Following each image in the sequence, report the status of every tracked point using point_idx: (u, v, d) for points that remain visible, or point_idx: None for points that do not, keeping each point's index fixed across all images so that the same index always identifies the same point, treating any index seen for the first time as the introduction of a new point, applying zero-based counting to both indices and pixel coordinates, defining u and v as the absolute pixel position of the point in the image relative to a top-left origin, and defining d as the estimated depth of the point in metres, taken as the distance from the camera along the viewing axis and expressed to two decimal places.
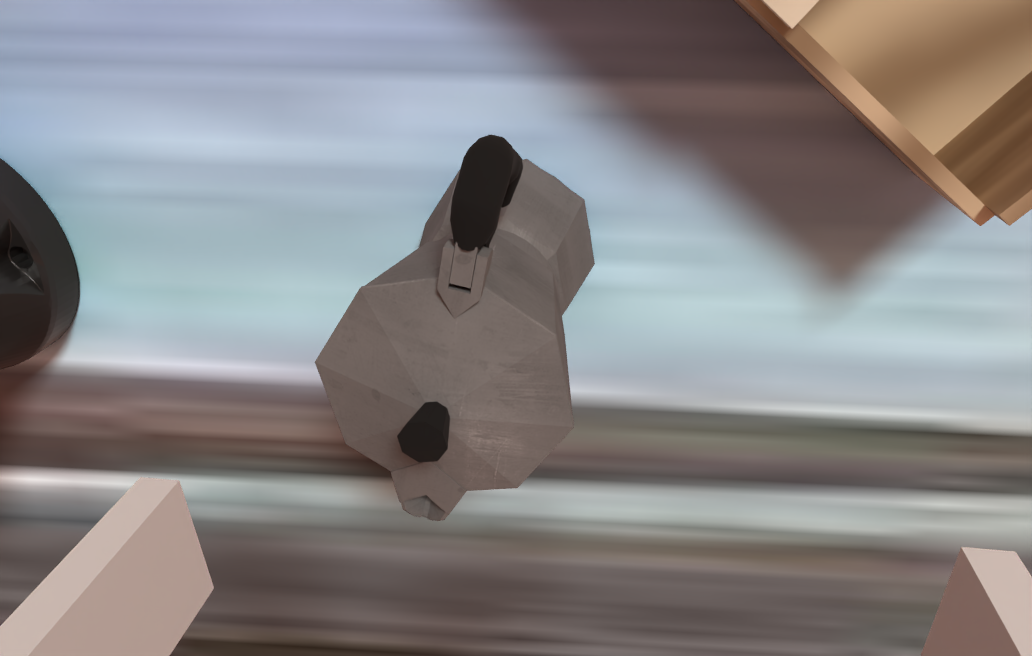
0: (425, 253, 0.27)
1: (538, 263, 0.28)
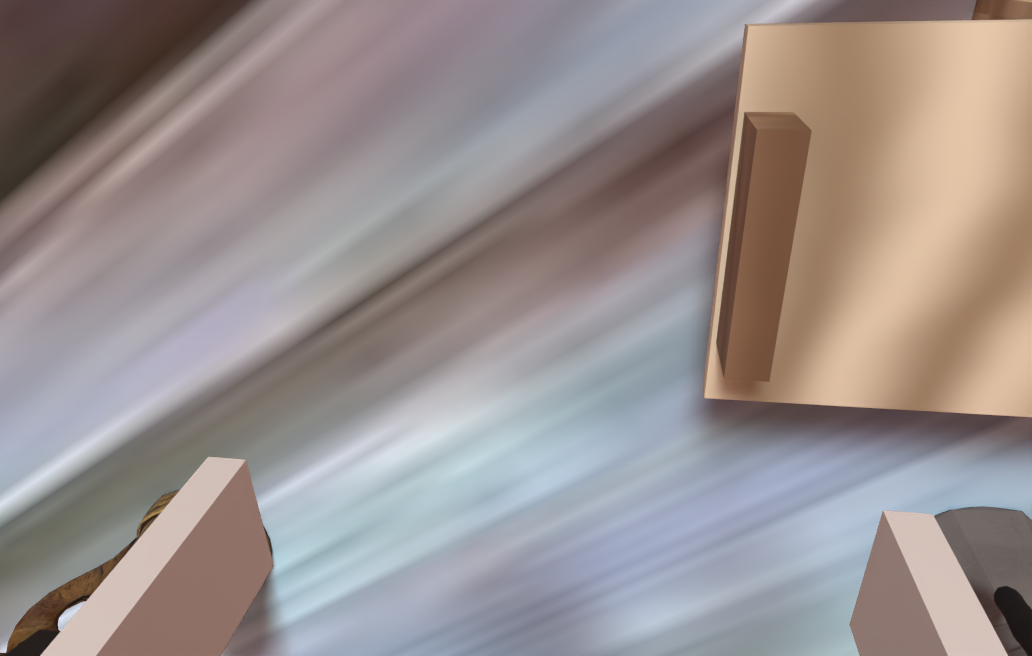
0: None
1: None
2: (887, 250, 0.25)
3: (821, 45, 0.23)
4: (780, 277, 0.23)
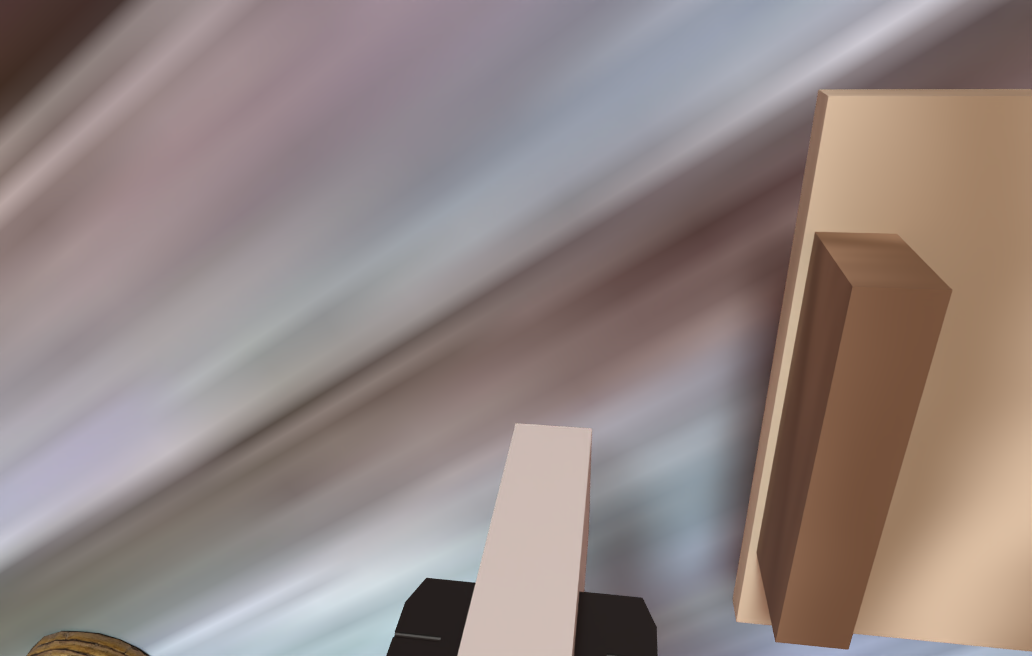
0: None
1: None
2: None
3: (952, 129, 0.13)
4: (877, 510, 0.14)
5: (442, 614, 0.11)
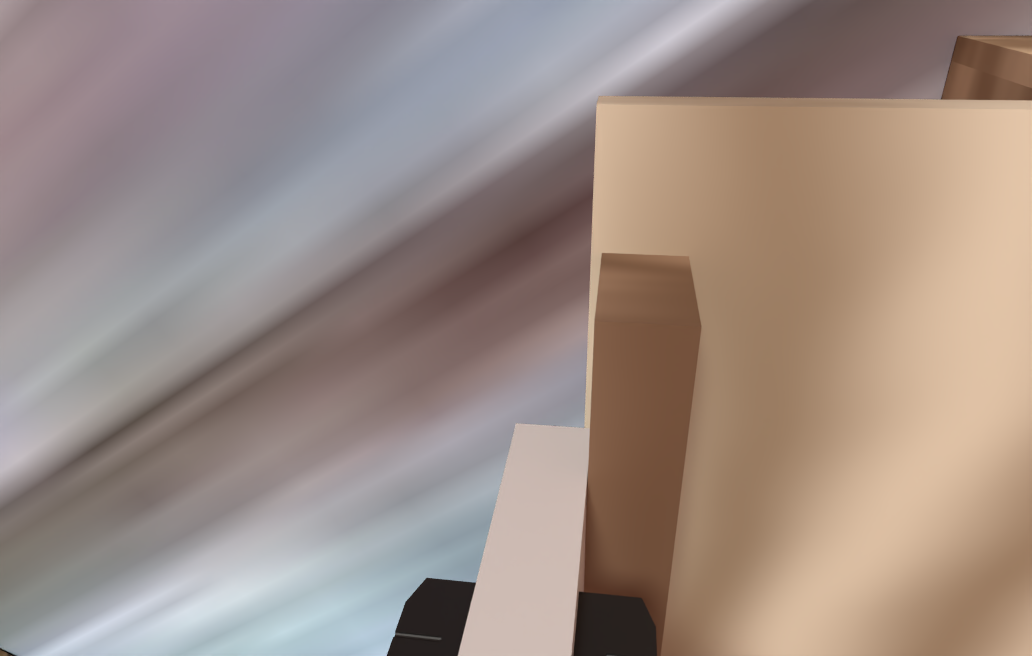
0: None
1: None
2: (861, 480, 0.15)
3: (734, 143, 0.12)
4: (660, 561, 0.13)
5: (442, 614, 0.11)
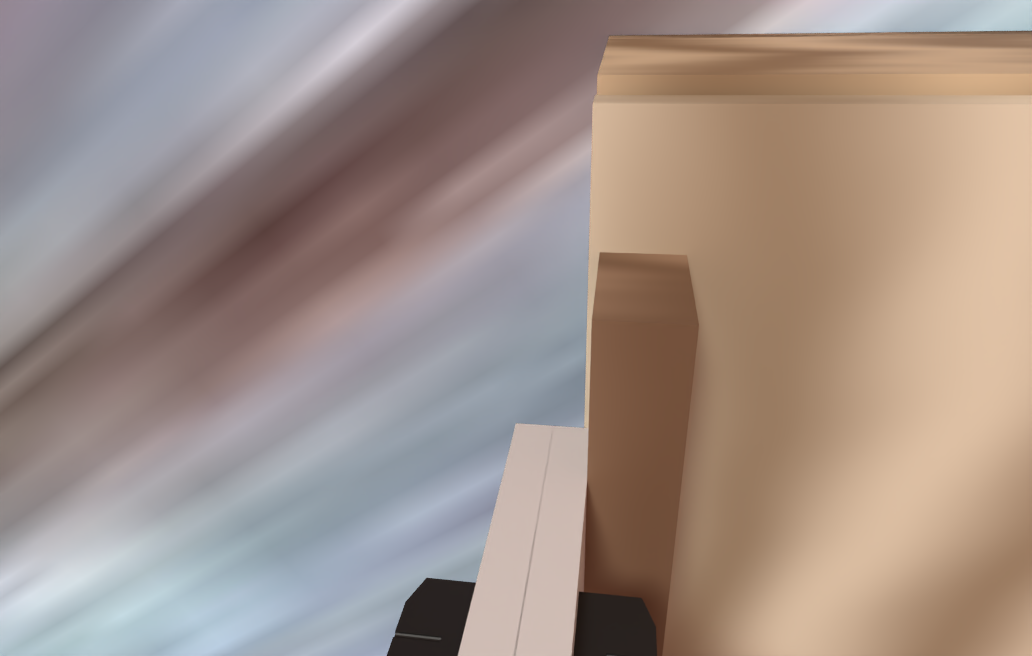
0: None
1: None
2: (862, 477, 0.15)
3: (731, 140, 0.12)
4: (661, 560, 0.13)
5: (442, 614, 0.11)
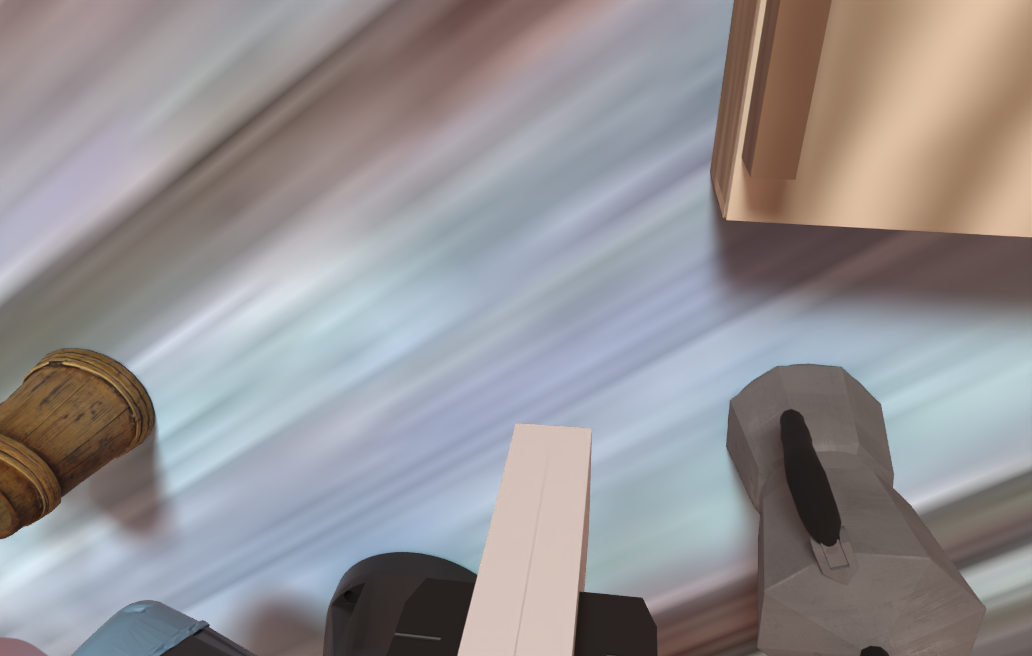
0: (776, 520, 0.33)
1: (858, 472, 0.34)
2: (918, 51, 0.25)
3: None
4: (813, 60, 0.24)
5: (442, 614, 0.11)
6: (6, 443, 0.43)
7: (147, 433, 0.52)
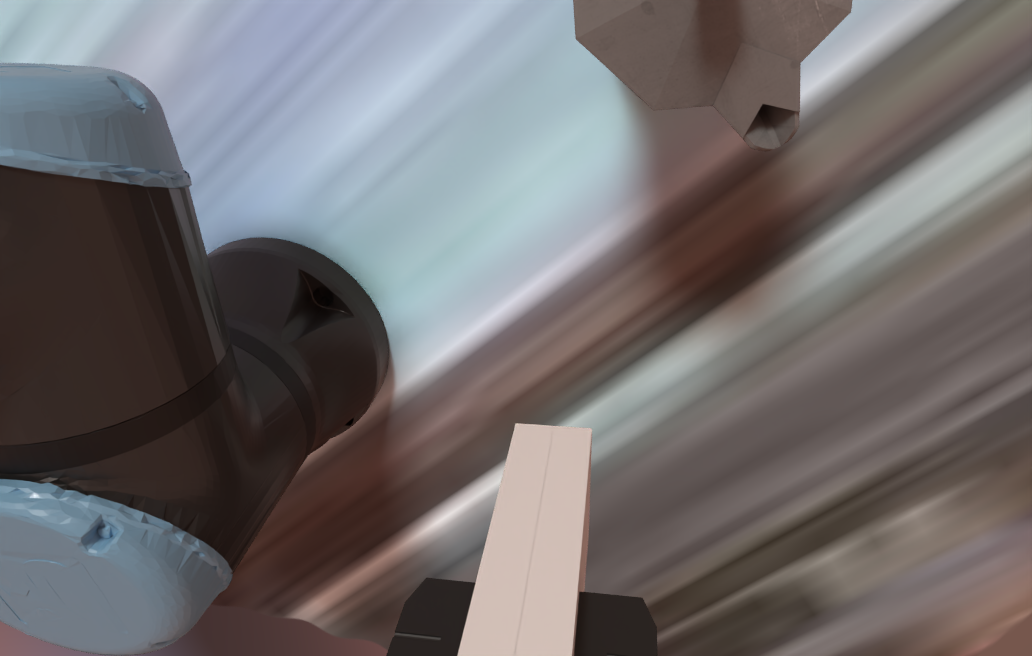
0: None
1: None
2: None
3: None
4: None
5: (442, 614, 0.11)
6: None
7: None
